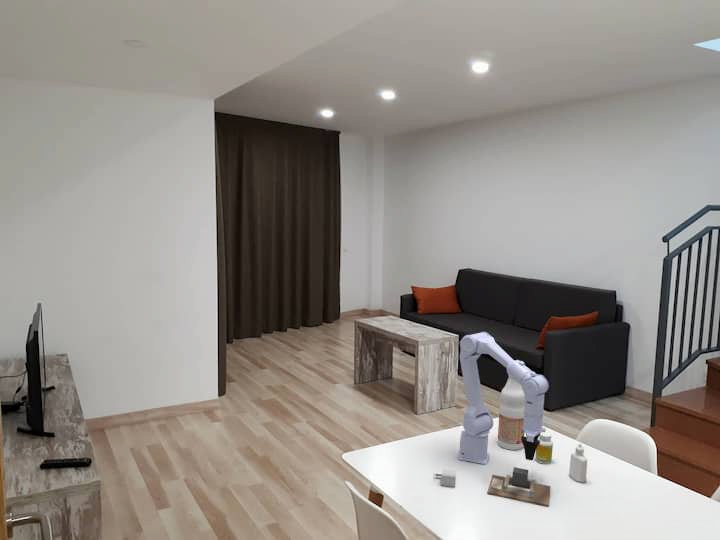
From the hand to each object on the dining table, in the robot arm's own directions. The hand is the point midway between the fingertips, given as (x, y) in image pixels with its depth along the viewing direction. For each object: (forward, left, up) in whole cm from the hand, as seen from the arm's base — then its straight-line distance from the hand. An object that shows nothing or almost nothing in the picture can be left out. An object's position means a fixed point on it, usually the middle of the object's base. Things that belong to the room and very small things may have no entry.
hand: (530, 454), depth 176 cm
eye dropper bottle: (+15, +9, -10) cm, 20 cm away
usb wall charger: (-25, -12, -10) cm, 29 cm away
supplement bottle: (+4, +18, -10) cm, 21 cm away
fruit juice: (-8, +26, -10) cm, 29 cm away
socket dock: (-2, -7, -9) cm, 12 cm away
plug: (-2, -7, -9) cm, 11 cm away
